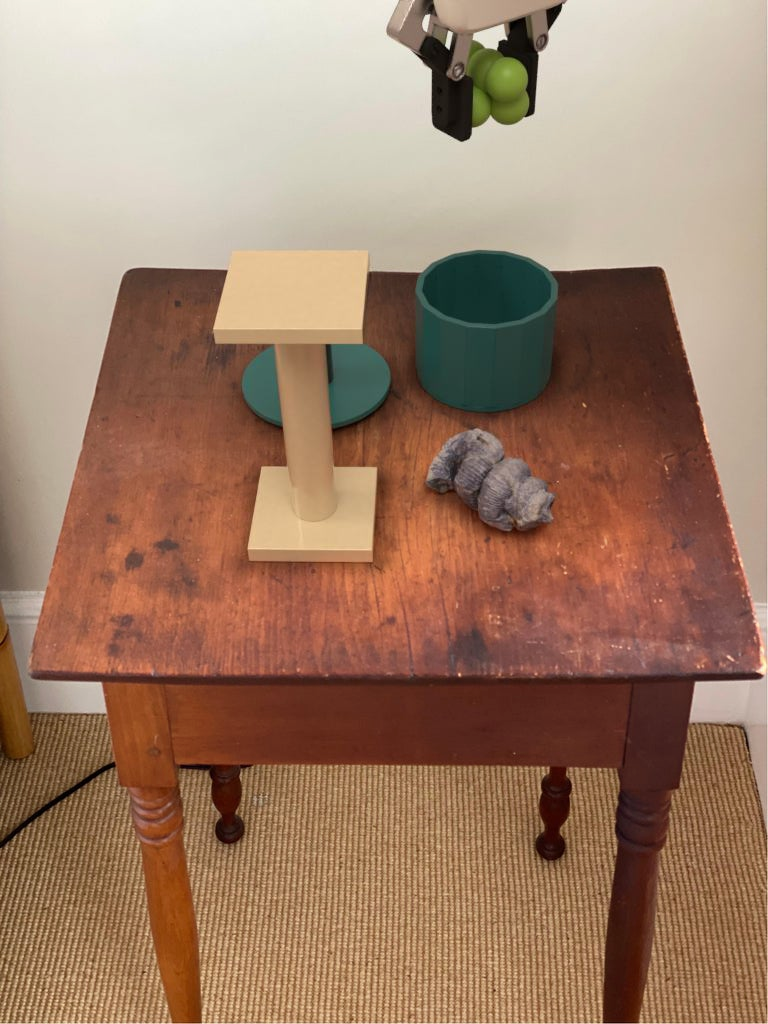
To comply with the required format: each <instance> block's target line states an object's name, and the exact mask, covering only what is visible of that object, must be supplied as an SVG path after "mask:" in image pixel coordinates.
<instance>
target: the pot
mask: <svg viewBox="0 0 768 1024" xmlns="http://www.w3.org/2000/svg"><path fill="white" fill-rule="evenodd" d="M558 295H559V283H558V280H556V278H555V276H554V275H553V273H552V272H551V271H550V269H549V268H548V267H546V266H544V265H543V264H541V263H539V262H537V261H536V260H534V259H532V258H530V257H528V256H524V255H520V254H518V253H513V252H510V251H505V250H493V249H492V250H490V249H474V250H468V251H461V252H456V253H452V254H449V255H446V256H445V257H442V258H440V259H438V260H437V259H436V260H435V261H433V262H431V263H430V264H429V265H428V266H427V267H426V268H425V269H424V270H423V271H422V272H421V273H420V274H419V275H418V277H417V281H416V285H415V290H414V301H415V302H414V306H415V307H414V310H415V311H414V314H415V315H414V316H415V317H414V318H415V319H414V320H415V323H414V324H415V328H414V329H415V331H414V332H415V370H416V375H417V379H418V382H419V384H420V385H421V388H422V389H423V390H424V391H425V392H426V393H427V394H428V395H429V396H431V397H432V398H433V399H435V400H436V401H438V402H440V403H442V404H444V405H446V406H449V407H451V408H455V409H459V410H461V411H466V412H476V413H495V412H503V411H508V410H514V409H516V408H520V407H521V406H524V405H526V404H528V403H530V402H531V401H533V400H535V399H536V398H538V396H540V395H541V394H542V393H543V391H545V389H546V387H547V386H548V383H549V381H550V378H551V370H552V361H553V350H554V339H555V330H556V318H557V308H558V299H559V298H558Z"/></svg>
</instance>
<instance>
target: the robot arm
mask: <svg viewBox="0 0 768 1024" xmlns="http://www.w3.org/2000/svg"><path fill="white" fill-rule="evenodd" d="M567 2H568V0H398V1H397V4H396V6H395V7H394V10H393V11H392V14H391V17H390V18H389V20H388V23H387V24H386V30H385V31H386V35H387V37H389V38H390V39H392V40H393V41H395V42H397V43H398V44H400V45H402V46H404V47H405V48H407V49H408V50H410V51H411V52H412V53H413V54H414V55H415V56H416V57H417V58H418V59H419V60H421V62H422V64H423V66H424V67H426V68H428V69H430V70H431V100H430V101H431V103H430V104H431V108H430V109H431V110H430V111H431V112H430V114H431V123H432V126H433V127H434V129H436V130H438V131H440V132H441V133H443V134H445V135H447V136H448V137H451V138H453V139H454V140H456V141H458V142H460V143H464V142H466V141H469V140H470V139H471V136H472V135H473V128H472V115H473V86H474V83H473V78H471V77H469V76H467V75H465V73H466V69H467V64H468V59H469V54H470V49H471V45H472V40H474V36H475V34H476V33H479V32H483V31H486V30H489V29H493V28H496V27H498V26H501V25H503V28H504V35H505V37H506V39H505V38H504V39H501V40H498V42H497V47H496V50H497V51H499V52H500V53H501V54H502V55H503V56H504V57H510V58H514V59H516V60H518V61H519V62H521V63H522V64H523V66H524V67H525V69H526V71H527V75H528V83H527V87H526V92H527V94H528V97H529V108H528V111H527V113H526V115H525V116H524V118H528V117H531V116H533V115H535V112H536V99H537V86H538V72H539V59H540V54H539V53H541V52H543V51H544V50H546V48H547V46H548V44H549V39H550V36H549V31H550V30H551V29H552V27H553V26H554V24H555V22H556V20H557V19H558V17H559V16H560V14H561V13H562V9H563V5H565V4H566V3H567ZM426 16H429V20H428V25H427V30H425V29H424V27H423V22H424V19H425V17H426ZM449 32H451V33H452V34H451V40H450V44H449V48H448V47H447V46H446V44H447V39H448V33H449Z"/></svg>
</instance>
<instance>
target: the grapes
mask: <svg viewBox="0 0 768 1024" xmlns="http://www.w3.org/2000/svg"><path fill="white" fill-rule="evenodd" d="M465 75H467V76H469V77H471V78H473V83H474V86H473V115H472V129H474V128H478V127H480V126H482V125H484V124H485V123H486V122H487V121H488V120H489V119H490V117H491V118H492V119H493V120H494V121H495V122H496V123H497V124H500V125H503V126H512V125H516V124H518V123H520V122H521V121H522V120H523V119H524V118H525V117H524V116H525V115H526V113H527V111H528V108H529V97H528V94H527V92H526V87H527V83H528V75H527V71H526V69H525V67H524V66H523V64H522V63H521V62H519V61H518V60H516V59H514V58H510V57H504V56H503V55H502V54H501V53H500V52H499V51H497V49H495V48H491V47H485V46H484V44H483V43H481V42H479V41H477V40H475V39H473V40H472V45H471V49H470V54H469V59H468V64H467V69H466V73H465Z"/></svg>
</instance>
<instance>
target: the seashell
mask: <svg viewBox="0 0 768 1024" xmlns="http://www.w3.org/2000/svg"><path fill="white" fill-rule="evenodd" d="M427 470H428V471H427V477H426V478H425V480H424V484H425V485H426V486H427V487H429V488H430V489H433V490H436V491H437V492H439V493H442V494H445V493H446V492H447V491H450V490H455V492H456V493H457V495H458V497H459V498H460V499H461V500H462V502H463V503H464V504H465V505H466V506H467V507H469V508H470V509H472V510H474V511H477V514H478V516H479V520H481V521H482V522H484V523H485V524H487V525H488V526H490V527H492V528H496V529H498V530H500V531H504V532H511V531H512V530H513V529H514V527H515V528H516V530H518V531H519V532H521V531H522V532H524V531H525V532H527V531H531V530H532V529H535V528H537V527H538V526H540V525H549V524H550V523H551V522H552V523H553V521H554V520H555V519H554V517H553V514H552V512H551V509H552V507H553V505H554V503H555V500H556V493H555V492H554V491H551V492H549V486H548V483H547V481H546V480H544V479H542V478H540V477H536V476H532V470H531V467H529V465H528V463H527V462H525V461H524V460H523V459H522V458H518V457H512V456H507V457H506V452H505V448H504V445H503V442H502V441H501V440H500V439H499V438H498V437H497V436H495V435H494V434H493V433H491V432H490V431H489V430H482V429H480V428H478V427H477V428H473V429H468V430H465V431H462V432H459V433H458V434H455V435H454V436H453V437H449V438H448V440H446V441H445V443H444V444H443V445H442V446H441V449H440V451H439V452H438V453H437V455H436V456H434V458H433V459H432V462H431V463H430V465H429V467H428V469H427Z"/></svg>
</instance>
